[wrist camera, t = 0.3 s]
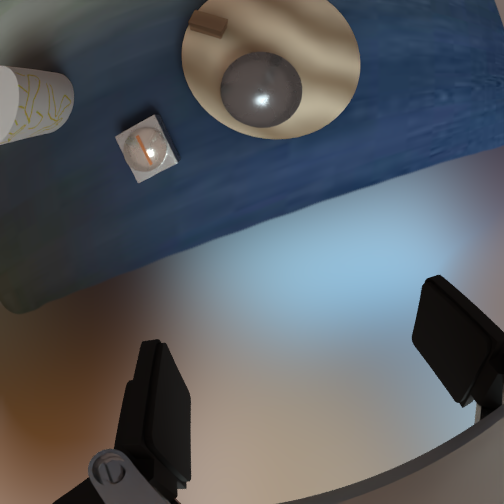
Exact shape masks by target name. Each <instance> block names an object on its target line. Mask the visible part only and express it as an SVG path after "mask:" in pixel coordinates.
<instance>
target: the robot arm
mask: <svg viewBox="0 0 504 504" xmlns="http://www.w3.org/2000/svg"><path fill="white" fill-rule="evenodd" d="M412 342H413V344H414V346H415V347H416V348H417V350H418V351H419V352H420V354H421V355H422V356H423V358H424V359H425V360H426V362H427V363H428V364H429V365H430V367H431V368H432V370H433V371H434V372H435V374H436V375H437V377H438V378H439V379H440V381H441V382H442V384H443V385H444V386H445V388H446V389H447V390H448V392H449V393H450V395H451V396H452V397H453V399H454V401H455V402H457V403H460V405H461V406H462V408H463V407H465V406H466V405H468V404H470V403H471V402H472V401H473V400H475V401H476V402H477V404H476V415H475V423H474V425H473V426H471V427H470V428H468V429H467V430H465V431H464V432H462V433H461V434H459V435H457V436H455V437H454V438H452V439H451V440H449V441H447V442H445V443H443V444H442V445H440V446H438V447H436V448H434V449H432V450H431V451H429V452H427V453H425V454H423V455H421V456H419V457H417V458H415V459H413V460H411V461H408V462H406V463H404V464H402V465H400V466H397V467H395V468H393V469H391V470H388V471H386V472H383V473H381V474H378V475H376V476H373V477H371V478H368V479H365V480H363V481H360V482H357V483H354V484H351V485H348V486H345V487H342V488H339V489H336V490H332V491H329V492H325V493H322V494H318V495H314V496H310V497H306V498H302V499H298V500H293V501H288V502H284V503H279V504H504V332H503V331H502V330H501V329H500V328H499V327H498V326H497V325H495V323H494V322H493V321H491V319H489V318H488V317H487V316H486V315H485V314H484V313H483V312H482V311H481V310H480V309H479V308H478V307H477V306H476V305H474V304H473V303H472V302H471V301H470V300H469V299H468V298H467V297H465V296H464V295H463V294H462V293H461V292H460V291H459V290H458V289H456V288H455V287H454V286H453V285H452V284H450V283H449V282H448V281H447V280H446V279H445V278H444V277H442V276H441V275H436V276H433V277H430V278H427V279H426V280H425V283H424V284H423V285H422V290H421V296H420V302H419V306H418V311H417V316H416V321H415V325H414V330H413V334H412ZM190 411H191V398H190V393H189V391H188V389H187V386H186V385H185V383H184V380H183V378H182V376H181V374H180V372H179V370H178V368H177V366H176V364H175V362H174V359H173V357H172V355H171V353H170V351H169V348H168V346H167V344H166V343H161V342H160V340H158V339H156V340H149V341H143V342H142V344H141V347H140V351H139V356H138V360H137V364H136V369H135V374H134V378H133V380H131V381H129V382H128V383H127V385H126V389H125V393H124V398H123V403H122V408H121V413H120V418H119V423H118V429H117V434H116V440H115V446H114V449H106V450H102V451H100V452H98V453H97V454H96V455H95V456H94V457H93V458H92V459H91V461H90V463H89V466H88V475H89V478H87V479H86V480H84V481H83V482H82V483H80V484H79V485H78V486H76V487H75V488H73V489H72V490H71V491H69V492H68V493H66V494H65V495H63V496H62V497H60V498H59V499H58V500H56V501H55V502H54V503H53V504H181V503H180V502H179V501H178V500H177V499H176V497H177V489H186V482H187V481H190V480H191V444H190V442H191V439H190V423H191V421H190V420H191V419H190V418H191V416H190V415H191V412H190Z"/></svg>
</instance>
